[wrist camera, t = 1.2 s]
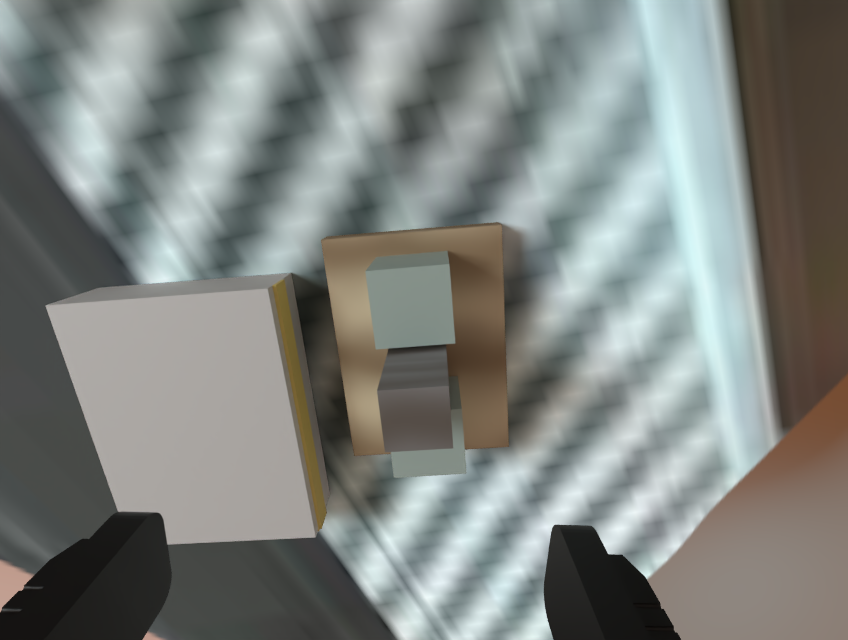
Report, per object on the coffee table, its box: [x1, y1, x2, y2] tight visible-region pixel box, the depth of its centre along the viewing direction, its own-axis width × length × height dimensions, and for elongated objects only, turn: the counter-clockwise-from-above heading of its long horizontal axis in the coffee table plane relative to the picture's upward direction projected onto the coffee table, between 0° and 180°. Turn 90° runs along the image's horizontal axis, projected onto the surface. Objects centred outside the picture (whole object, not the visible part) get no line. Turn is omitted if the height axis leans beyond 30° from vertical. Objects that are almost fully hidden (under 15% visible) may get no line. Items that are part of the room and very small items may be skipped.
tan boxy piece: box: [321, 222, 509, 456], centre depth 24 cm, size 14×10×10 cm
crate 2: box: [391, 376, 466, 478], centre depth 26 cm, size 4×4×4 cm
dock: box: [46, 273, 330, 544], centre depth 28 cm, size 12×16×4 cm
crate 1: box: [365, 251, 455, 349], centre depth 23 cm, size 4×4×4 cm
